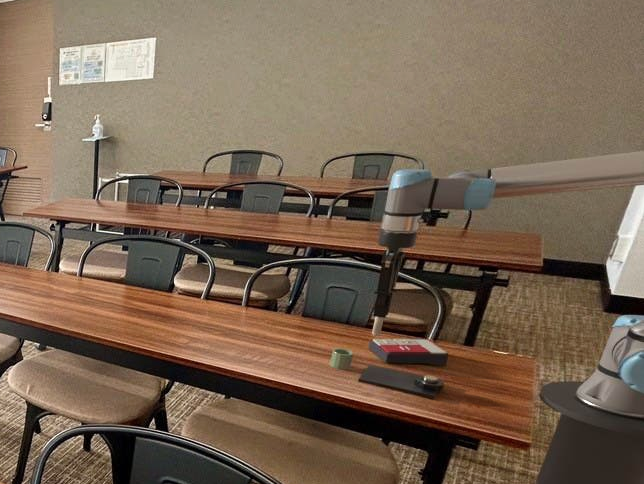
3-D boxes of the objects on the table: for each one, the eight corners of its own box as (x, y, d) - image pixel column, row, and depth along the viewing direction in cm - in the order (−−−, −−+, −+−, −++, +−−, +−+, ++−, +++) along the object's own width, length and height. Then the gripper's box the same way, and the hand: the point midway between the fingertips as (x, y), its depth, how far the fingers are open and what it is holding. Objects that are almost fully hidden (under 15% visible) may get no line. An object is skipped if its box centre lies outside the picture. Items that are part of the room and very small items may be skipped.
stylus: (380, 335, 160) (391, 284, 155) (379, 337, 159) (390, 285, 154) (372, 333, 161) (383, 283, 156) (370, 335, 160) (381, 284, 155)
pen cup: (351, 366, 169) (355, 351, 167) (347, 372, 166) (350, 356, 164) (332, 362, 172) (335, 347, 171) (327, 367, 169) (331, 352, 168)
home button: (437, 381, 153) (438, 377, 152) (435, 385, 151) (436, 380, 151) (423, 378, 155) (424, 374, 154) (421, 382, 153) (422, 377, 153)
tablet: (445, 384, 155) (447, 376, 155) (437, 400, 148) (440, 391, 147) (368, 368, 167) (370, 360, 166) (357, 382, 160) (359, 374, 159)
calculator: (370, 337, 178) (428, 337, 174) (367, 350, 179) (425, 350, 175) (387, 351, 168) (450, 352, 164) (385, 364, 169) (446, 365, 165)
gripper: (411, 237, 143) (391, 325, 151) (423, 226, 152) (403, 310, 160) (374, 234, 148) (356, 320, 156) (387, 224, 157) (369, 306, 165)
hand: (380, 315), depth 158 cm, fingers closed on stylus, 2 cm apart
